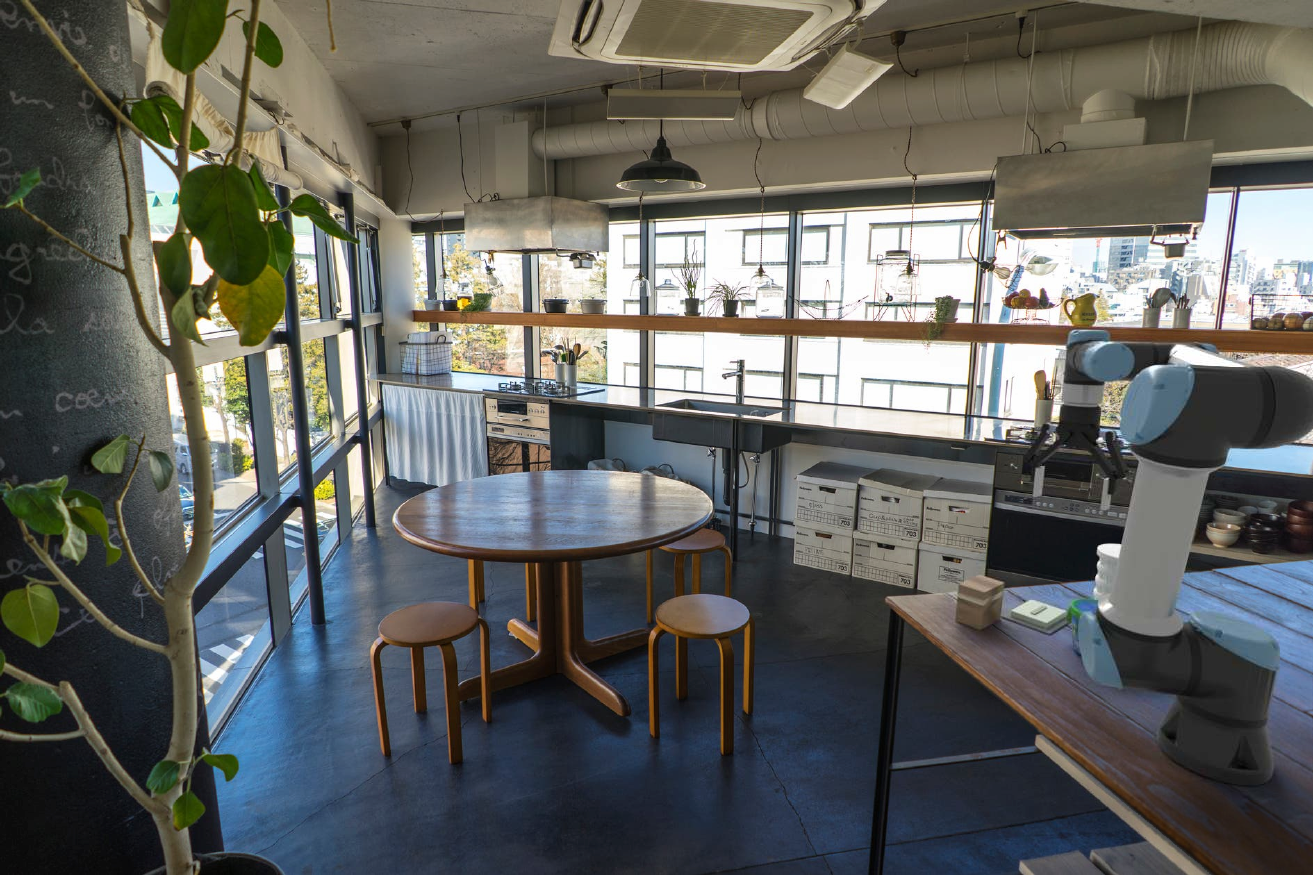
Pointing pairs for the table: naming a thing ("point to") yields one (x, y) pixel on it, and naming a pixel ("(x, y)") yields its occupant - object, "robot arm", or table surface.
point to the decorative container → (1106, 569)
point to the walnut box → (979, 601)
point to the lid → (1038, 613)
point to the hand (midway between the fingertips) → (1069, 502)
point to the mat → (1038, 628)
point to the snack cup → (1074, 615)
